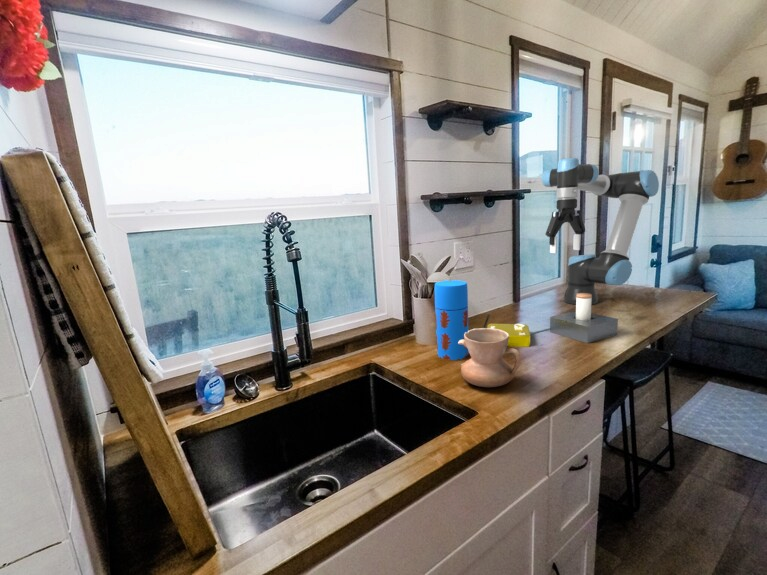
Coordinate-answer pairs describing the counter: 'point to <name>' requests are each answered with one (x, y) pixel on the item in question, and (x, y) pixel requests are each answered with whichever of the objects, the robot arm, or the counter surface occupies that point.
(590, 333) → the block
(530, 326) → the mat
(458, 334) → the thermos
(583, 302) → the white cylinder
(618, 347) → the counter surface
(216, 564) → the counter surface
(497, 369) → the ceramic jug
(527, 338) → the element tile
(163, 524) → the counter surface
